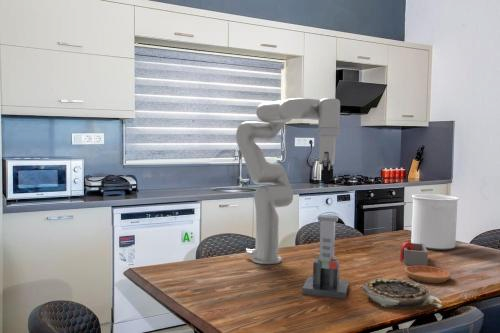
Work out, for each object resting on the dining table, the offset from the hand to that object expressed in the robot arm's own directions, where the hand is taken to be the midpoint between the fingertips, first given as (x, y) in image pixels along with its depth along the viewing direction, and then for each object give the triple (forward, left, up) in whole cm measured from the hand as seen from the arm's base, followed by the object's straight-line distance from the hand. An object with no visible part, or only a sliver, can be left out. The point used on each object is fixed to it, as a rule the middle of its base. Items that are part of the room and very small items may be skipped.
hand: (327, 180), depth 168 cm
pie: (+24, -14, -37) cm, 46 cm away
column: (+2, -12, -28) cm, 31 cm away
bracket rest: (+34, +40, -36) cm, 64 cm away
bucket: (+45, +74, -36) cm, 94 cm away
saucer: (+37, +15, -37) cm, 54 cm away
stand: (+2, -12, -36) cm, 38 cm away
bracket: (+34, +40, -36) cm, 64 cm away
